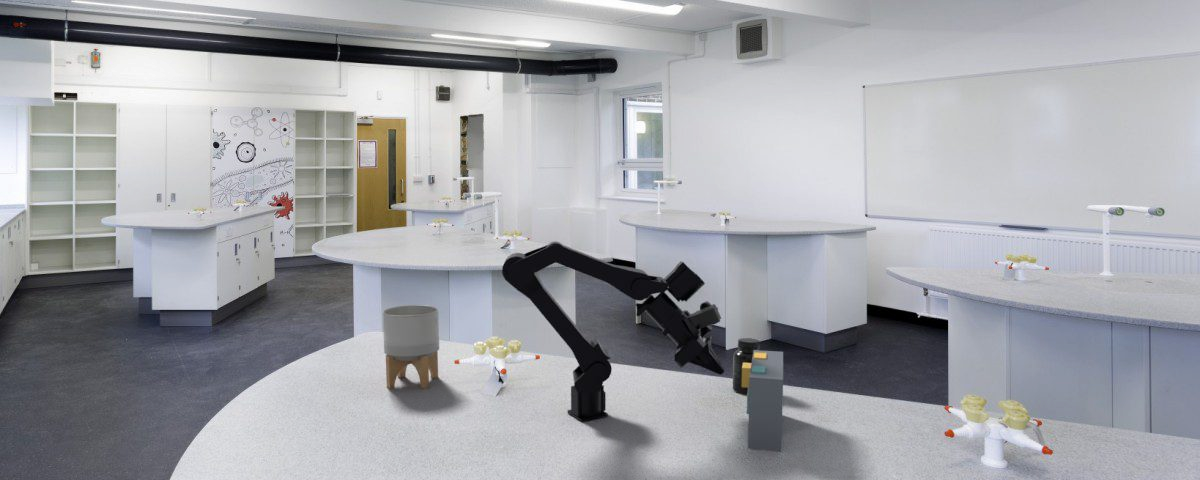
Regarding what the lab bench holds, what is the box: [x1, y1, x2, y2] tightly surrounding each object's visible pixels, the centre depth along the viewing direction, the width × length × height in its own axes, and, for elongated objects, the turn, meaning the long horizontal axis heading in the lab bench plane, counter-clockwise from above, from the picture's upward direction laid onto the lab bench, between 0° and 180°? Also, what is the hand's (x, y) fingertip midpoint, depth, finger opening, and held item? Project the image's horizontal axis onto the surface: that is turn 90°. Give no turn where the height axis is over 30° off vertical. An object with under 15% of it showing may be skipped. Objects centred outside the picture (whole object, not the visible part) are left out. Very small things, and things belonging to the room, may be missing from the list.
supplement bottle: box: [732, 337, 760, 395], centre depth 164 cm, size 7×7×12 cm
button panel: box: [747, 349, 784, 452], centre depth 139 cm, size 6×20×14 cm, turn 166°
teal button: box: [746, 387, 749, 415], centre depth 135 cm, size 4×4×4 cm
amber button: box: [742, 363, 752, 388], centre depth 144 cm, size 4×4×4 cm
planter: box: [382, 304, 440, 389], centre depth 171 cm, size 13×13×18 cm
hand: (722, 372), depth 146 cm, fingers closed
